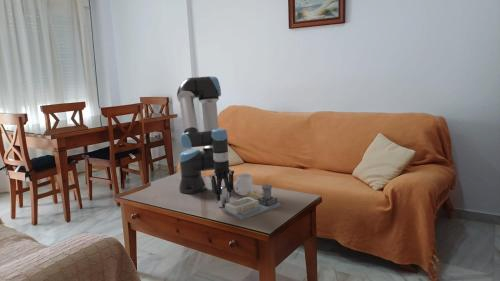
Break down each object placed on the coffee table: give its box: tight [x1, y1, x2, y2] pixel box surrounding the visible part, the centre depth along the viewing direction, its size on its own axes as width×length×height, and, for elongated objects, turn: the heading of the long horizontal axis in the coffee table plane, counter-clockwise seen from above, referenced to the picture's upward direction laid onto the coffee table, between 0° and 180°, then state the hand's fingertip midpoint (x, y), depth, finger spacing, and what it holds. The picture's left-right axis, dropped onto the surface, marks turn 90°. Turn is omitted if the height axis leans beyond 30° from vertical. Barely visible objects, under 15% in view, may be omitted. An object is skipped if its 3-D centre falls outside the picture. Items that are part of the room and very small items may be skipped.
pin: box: [220, 185, 228, 209], centre depth 191 cm, size 4×4×10 cm
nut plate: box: [221, 184, 281, 220], centre depth 187 cm, size 16×24×10 cm, turn 128°
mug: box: [233, 173, 254, 197], centre depth 209 cm, size 12×8×10 cm
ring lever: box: [246, 191, 278, 206], centre depth 194 cm, size 18×7×2 cm, turn 38°
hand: (224, 205), depth 192 cm, fingers closed on pin, 4 cm apart
